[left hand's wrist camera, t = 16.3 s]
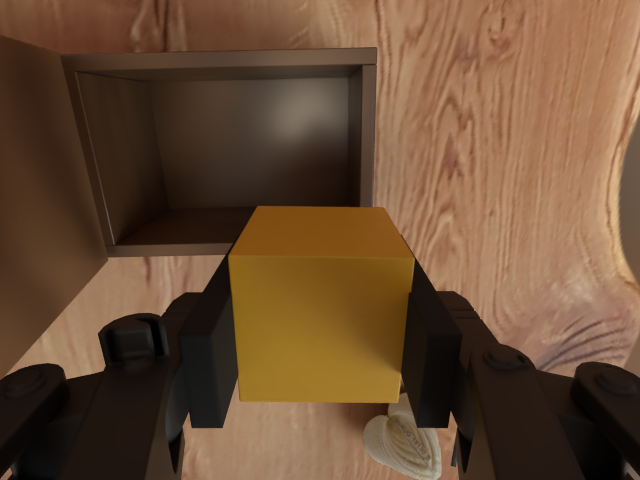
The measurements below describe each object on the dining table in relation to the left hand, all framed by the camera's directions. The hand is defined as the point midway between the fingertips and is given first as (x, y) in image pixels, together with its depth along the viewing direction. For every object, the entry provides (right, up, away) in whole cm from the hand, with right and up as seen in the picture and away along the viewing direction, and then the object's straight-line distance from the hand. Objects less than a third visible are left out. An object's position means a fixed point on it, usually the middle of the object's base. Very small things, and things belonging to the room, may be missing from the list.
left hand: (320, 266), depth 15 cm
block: (0, 0, 0) cm, 0 cm away
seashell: (+8, -19, +27) cm, 34 cm away
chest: (-6, +9, +16) cm, 19 cm away
